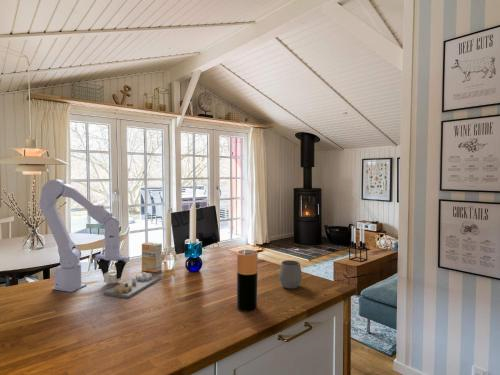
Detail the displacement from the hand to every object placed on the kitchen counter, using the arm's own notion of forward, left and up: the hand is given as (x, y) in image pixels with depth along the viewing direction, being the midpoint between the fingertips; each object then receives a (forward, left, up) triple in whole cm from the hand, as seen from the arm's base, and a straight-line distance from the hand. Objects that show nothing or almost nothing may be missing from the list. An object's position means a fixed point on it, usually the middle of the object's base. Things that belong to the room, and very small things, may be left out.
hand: (112, 277), depth 136 cm
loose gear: (0, 0, -1) cm, 1 cm away
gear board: (+11, 0, -3) cm, 11 cm away
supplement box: (+6, +20, -3) cm, 21 cm away
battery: (+61, -5, -3) cm, 61 cm away
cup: (+72, +20, -3) cm, 74 cm away
